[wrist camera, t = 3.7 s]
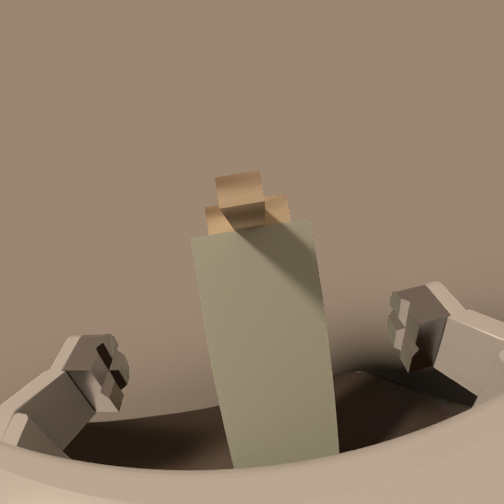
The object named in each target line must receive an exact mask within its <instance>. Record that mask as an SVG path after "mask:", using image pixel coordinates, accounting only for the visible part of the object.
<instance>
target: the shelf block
mask: <svg viewBox="0 0 504 504" xmlns="http://www.w3.org/2000/svg"><path fill="white" fill-rule="evenodd" d="M191 244H192V251H193V259H194V265H195V272H196V279H197V285H198V292H199V298H200V304H201V310H202V316H203V322H204V327H205V333H206V339H207V344H208V349H209V355H210V360H211V365H212V370H213V376H214V380H215V386H216V390H217V395H218V400H219V405H220V409H221V414H222V419H223V423H224V428H225V432H226V436H227V441H228V445H229V449H230V453H231V457H232V461H233V466H234V469H239V468H251V467H261V466H270V465H278V464H285V463H292V462H299V461H305V460H310V459H316V458H321V457H326V456H331V455H335V454H339V443H338V430H337V417H336V406H335V395H334V385H333V376H332V367H331V359H330V351H329V342H328V334H327V326H326V319H325V312H324V305H323V297H322V291H321V284H320V278H319V271H318V265H317V259H316V253H315V248H314V241H313V235H312V230H311V224H310V219H305V220H298V221H292V222H285V223H279V224H272V225H266V226H260V227H254V228H248V229H242V230H235V231H229V232H223V233H218V234H212V235H206V236H200V237H194V238H191Z"/></svg>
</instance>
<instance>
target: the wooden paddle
mask: <svg viewBox="0 0 504 504" xmlns="http://www.w3.org/2000/svg"><path fill="white" fill-rule="evenodd" d="M215 182H216V189H217V196H218V203H219V205H215V206H210V207H205V210H206V218H207V225H208V232H209V235H212V234H218V233H223V232H229V231H235V230H242V229H248V228H254V227H260V226H266V225H272V224H279V223H285V222H291V218H290V212H289V207H288V201H287V196H286V194H282V195H275V196H269V197H264V194H263V188H262V182H261V176H260V171H259V170H258V171H251V172H245V173H239V174H233V175H228V176H222V177H216V178H215Z"/></svg>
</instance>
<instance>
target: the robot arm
mask: <svg viewBox="0 0 504 504" xmlns="http://www.w3.org/2000/svg"><path fill="white" fill-rule="evenodd" d="M390 305H391V307H392V309H393V311H392V312H391V314H390V315H389V317H388V333H389V337H390V340H391V342H392V344H393V346H394V347H395V348H397V349H399V350H401V353H400V359H401V361H402V362H403V364H404V366H405V368H406V370H407V372H408V373H410V372H413V371H417V370H420V369H424V368H427V367H431V366H434V368H436V369H437V370H439V371H440V372H442V373H443V374H445V375H447V376H448V377H449V378H451V379H453V380H454V381H456V382H457V383H459V384H460V385H462V386H463V387H465V388H466V389H468V390H469V391H471V392H472V393H474V394H476V395H477V396H478V397H477V399H476V401H475V403H474V405H473V407H472V408H471V409H469V410H467V411H465V412H463V413H460V414H458V415H456V416H454V417H451V418H449V419H447V420H444V421H442V422H439V423H437V424H434V425H432V426H429V427H426V428H424V429H421V430H418V431H416V432H413V433H410V434H407V435H404V436H401V437H398V438H395V439H392V440H389V441H385V442H382V443H378V444H375V445H371V446H368V447H364V448H360V449H356V450H352V451H348V452H344V453H340V454H335V455H331V456H326V457H321V458H316V459H310V460H305V461H299V462H292V463H285V464H278V465H270V466H261V467H251V468H239V469H222V470H157V469H141V468H129V467H119V466H111V465H103V464H96V463H89V462H83V461H78V460H72V459H70V458H69V457H68V456H67V455H66V454H65V453H64V452H63V450H64V449H65V448H66V447H67V445H68V444H69V443H70V442H71V441H72V440H73V439H74V437H75V436H76V435H77V434H78V433H79V432H80V431H81V429H82V428H83V427H84V426H85V425H86V424H87V423H88V421H89V420H90V419H91V418H92V417H93V416H94V415H95V413H96V412H119V410H120V407H121V403H122V400H123V397H124V395H123V393H122V391H121V389H122V388H124V387H125V386H126V385H127V383H128V380H129V366H128V362H127V360H126V358H125V356H124V355H123V354H121V353H120V352H119V351H117V348H118V343H117V341H116V339H115V338H114V336H112V335H110V334H104V335H84V336H71V337H69V338H68V339H67V340H66V342H65V344H64V345H63V347H62V349H61V351H60V353H59V354H58V356H57V358H56V360H55V361H54V363H53V365H52V367H51V369H50V370H49V371H48V370H46V371H45V372H43V373H42V374H41V375H39V376H38V377H37V378H35V379H34V380H33V381H31V382H30V383H29V384H27V385H26V386H25V387H23V388H22V389H21V390H19V391H18V392H17V393H16V394H15V395H13V396H12V397H10V398H9V399H8V400H7V401H5V402H4V403H3V404H2V405H0V504H504V322H501V321H499V320H496V319H493V318H491V317H488V316H485V315H483V314H481V313H478V312H475V311H473V310H467V311H466V310H465V309H464V308H463V307H462V305H461V304H460V303H459V302H458V301H457V300H456V299H455V298H454V297H453V296H452V295H451V294H450V293H449V291H448V290H447V289H446V288H445V287H444V286H443V285H442V284H441V283H440V282H438V281H434V282H431V283H427V284H423V285H422V286H418V287H413V288H409V289H405V290H401V291H396V292H393V293H392V296H391V298H390Z"/></svg>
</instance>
